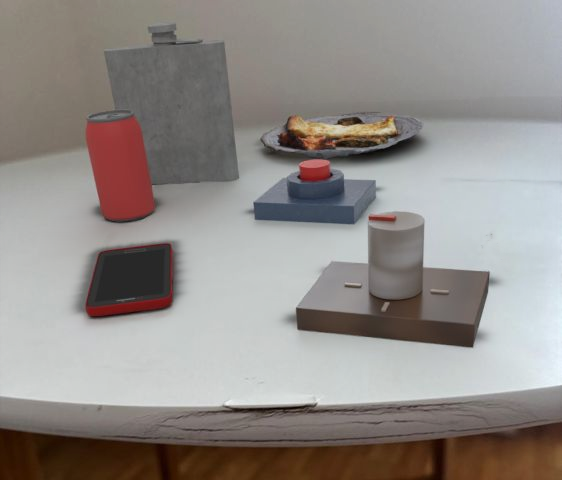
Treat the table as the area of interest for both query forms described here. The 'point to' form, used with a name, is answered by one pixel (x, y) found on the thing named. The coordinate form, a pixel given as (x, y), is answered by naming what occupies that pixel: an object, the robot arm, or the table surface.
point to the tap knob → (395, 254)
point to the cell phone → (131, 280)
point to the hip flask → (178, 105)
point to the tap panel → (396, 306)
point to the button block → (316, 200)
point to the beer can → (119, 165)
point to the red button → (314, 170)
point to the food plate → (341, 134)
